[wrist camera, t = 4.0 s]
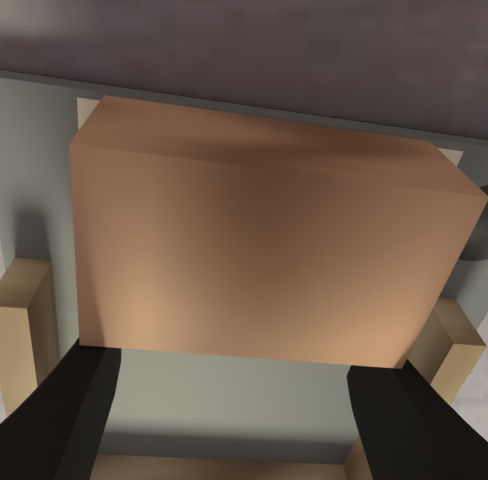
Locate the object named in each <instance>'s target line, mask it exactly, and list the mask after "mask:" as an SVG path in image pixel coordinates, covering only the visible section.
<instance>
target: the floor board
mask: <svg viewBox="0 0 488 480" xmlns="http://www.w3.org/2000/svg"><path fill="white" fill-rule="evenodd" d="M104 95H109V96H116V97H123V98H130V99H137V100H144V101H151V102H158V103H165V104H172V105H179V106H186V107H193V108H200V109H207V110H214V111H221V112H228V113H235V114H242V115H249V116H256V117H263V118H270V119H277V120H284V121H291V122H298V123H305V124H312V125H319V126H327V127H334V128H341V129H348V130H355V131H362V132H369V133H376V134H383V135H390V136H397V137H404V138H411V139H418V140H425V141H430V142H431V143H432V144H433V145H435V146H436V147H437V148H438V149H439V150H440V151H441V152H442V153H443V154H444V155H445V156H446V157H447V158H448V159H449V160H450V161H451V162H453V163H454V164H455V165H456V166H457V167H458V168H459V169H460V170H461V171H462V172H463V173H464V174H465V175H466V176H467V177H468V178H469V179H470V180H472V181H473V182H474V183H475V184H476V185H477V186H478V187H479V188H480V189H481V190H482V191H483V192H484V193H485V194H486V195H487V196H488V140H483V139H476V138H469V137H462V136H455V135H448V134H441V133H434V132H428V131H421V130H414V129H407V128H400V127H393V126H386V125H379V124H372V123H365V122H358V121H351V120H344V119H338V118H331V117H324V116H317V115H310V114H303V113H296V112H289V111H282V110H275V109H268V108H261V107H254V106H248V105H241V104H234V103H227V102H220V101H213V100H206V99H199V98H192V97H185V96H178V95H171V94H164V93H158V92H151V91H144V90H137V89H130V88H123V87H116V86H109V85H102V84H95V83H88V82H81V81H74V80H68V79H61V78H54V77H47V76H40V75H33V74H26V73H19V72H12V71H5V70H0V239H1V245H2V251H3V257H4V264H5V270H7V269H8V267H9V266H10V264H11V262H12V261H13V259H14V258H24V259H35V260H45V261H52V272H53V283H54V294H55V305H56V317H57V328H58V339H59V350H60V361H61V359H62V358H63V357H64V356H65V354H66V353H67V352H68V351H69V349H70V348H71V347H72V346H73V344H74V343H75V342H76V340H77V339H78V338H79V324H78V305H77V287H76V268H75V250H74V231H73V213H72V194H71V176H70V157H69V143H70V141H71V140H72V139H73V137H74V136H75V135H76V133H77V132H78V131H79V129H80V128H81V126H82V125H83V124H84V122H85V121H86V120H87V118H88V117H89V116H90V114H91V113H92V111H93V110H94V109H95V107H96V106H97V105H98V103H99V102H100V101H101V99H102V98H103V96H104ZM438 298H445V299H455V300H456V301H457V302H458V304H459V305H460V307H461V308H462V310H463V311H464V313H465V314H466V316H467V317H468V319H469V320H470V322H471V323H472V325H473V326H474V328H475V329H476V331H477V329H478V327H479V326H480V324H481V322H482V321H483V319H484V317H485V316H486V314H487V312H488V201H487V203H486V205H485V207H484V209H483V211H482V213H481V215H480V217H479V219H478V221H477V223H476V225H475V227H474V229H473V231H472V233H471V235H470V237H469V239H468V241H467V243H466V244H465V246H464V248H463V250H462V252H461V254H460V256H459V258H458V260H457V262H456V264H455V266H454V268H453V270H452V272H451V274H450V276H449V278H448V280H447V282H446V284H445V285H444V287H443V289H442V291H441V293H440V295H439V297H438ZM350 366H351V365H343V364H329V363H316V362H302V361H289V360H275V359H261V358H248V357H234V356H220V355H207V354H193V353H180V352H166V351H152V350H139V349H125V348H122V349H121V365H120V371H119V376H118V381H117V387H116V392H115V396H114V399H113V403H112V406H111V410H110V413H109V416H108V420H107V423H106V426H105V429H104V433H103V436H102V439H101V443H100V446H99V449H98V453H97V454H106V455H129V456H151V457H174V458H197V459H220V460H243V461H266V462H289V463H311V464H334V465H344V463H345V461H346V459H347V457H348V455H349V453H350V451H351V449H352V447H353V445H354V443H355V441H356V439H357V437H358V435H359V432H358V429H357V425H356V422H355V418H354V415H353V411H352V407H351V402H350V396H349V390H348V384H347V377H346V376H347V373H348V371H349V369H350Z"/></svg>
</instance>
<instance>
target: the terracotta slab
mask: <svg viewBox="0 0 488 480" xmlns="http://www.w3.org/2000/svg"><path fill="white" fill-rule="evenodd" d="M69 157H70V176H71V194H72V213H73V231H74V250H75V268H76V287H77V305H78V324H79V342H80V345H84V346H98V347H111V348H125V349H139V350H152V351H166V352H180V353H193V354H207V355H220V356H234V357H248V358H261V359H275V360H289V361H302V362H316V363H329V364H343V365H357V366H370V367H384V368H398V369H402V367H403V366H404V364H405V362H406V360H407V358H408V356H409V354H410V352H411V350H412V348H413V346H414V344H415V342H416V340H417V338H418V336H419V334H420V332H421V330H422V328H423V326H424V325H425V323H426V321H427V319H428V317H429V315H430V313H431V311H432V309H433V307H434V305H435V303H436V301H437V299H438V297H439V295H440V293H441V291H442V289H443V287H444V285H445V284H446V282H447V280H448V278H449V276H450V274H451V272H452V270H453V268H454V266H455V264H456V262H457V260H458V258H459V256H460V254H461V252H462V250H463V248H464V246H465V244H466V243H467V241H468V239H469V237H470V235H471V233H472V231H473V229H474V227H475V225H476V223H477V221H478V219H479V217H480V215H481V213H482V211H483V209H484V207H485V205H486V203H487V201H488V196H487V195H486V194H485V193H484V192H483V191H482V190H481V189H480V188H479V187H478V186H477V185H476V184H475V183H474V182H473V181H472V180H470V179H469V178H468V177H467V176H466V175H465V174H464V173H463V172H462V171H461V170H460V169H459V168H458V167H457V166H456V165H455V164H454V163H453V162H451V161H450V160H449V159H448V158H447V157H446V156H445V155H444V154H443V153H442V152H441V151H440V150H439V149H438V148H437V147H436V146H435V145H433V144H432V143H431V142H430V141H425V140H418V139H411V138H404V137H397V136H390V135H383V134H376V133H369V132H362V131H355V130H348V129H341V128H334V127H327V126H319V125H312V124H305V123H298V122H291V121H284V120H277V119H270V118H263V117H256V116H249V115H242V114H235V113H228V112H221V111H214V110H207V109H200V108H193V107H186V106H179V105H172V104H165V103H158V102H151V101H144V100H137V99H130V98H123V97H116V96H109V95H104V96H103V98H102V99H101V101H100V102H99V103H98V105H97V106H96V107H95V109H94V110H93V111H92V113H91V114H90V116H89V117H88V118H87V120H86V121H85V122H84V124H83V125H82V126H81V128H80V129H79V131H78V132H77V133H76V135H75V136H74V137H73V139H72V140H71V141H70V143H69Z"/></svg>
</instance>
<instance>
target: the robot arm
mask: <svg viewBox="0 0 488 480" xmlns="http://www.w3.org/2000/svg"><path fill="white" fill-rule="evenodd" d="M121 349H122V348H111V347H98V346H84V345H80V342H79V338H78V339H77V340H76V342H75V343H74V344H73V346H72V347H71V348H70V349H69V351H68V352H67V353H66V354H65V356H64V357H63V358H62V359H61V361H60V362H59V363H58V364H57V366H56V367H55V368H54V369H53V370H52V371H51V372H50V374H49V375H48V376H47V377H46V378H45V379H44V380H43V381H42V382H41V384H40V385H39V386H38V387H37V388H36V389H35V390H34V391H33V392H32V393H31V394H30V395H29V396H28V398H27V399H26V400H25V401H24V402H23V403H22V404H21V405H20V406H19V407H18V408H17V409H16V410H14V411H13V412H12V413H11V414H10V415H9V416H8V417H7V418H6V419H5V420H4V421H3V422H2V423H1V424H0V480H90V476H91V473H92V469H93V466H94V462H95V459H96V456H97V453H98V449H99V446H100V443H101V439H102V436H103V433H104V429H105V426H106V423H107V420H108V416H109V413H110V410H111V406H112V403H113V399H114V396H115V392H116V387H117V381H118V376H119V371H120V365H121ZM346 377H347V384H348V390H349V396H350V402H351V407H352V411H353V415H354V418H355V422H356V425H357V429H358V432H359V435H360V439H361V442H362V445H363V449H364V452H365V455H366V458H367V462H368V465H369V468H370V472H371V475H372V478H373V480H488V442H487V441H486V440H485V439H484V438H483V437H482V436H481V435H479V434H478V433H477V432H476V431H475V430H474V429H473V428H472V427H471V426H470V425H469V424H468V423H467V422H465V421H464V420H463V419H462V418H461V417H460V416H459V415H458V413H457V412H456V411H455V410H454V409H453V408H452V407H451V406H450V405H449V404H448V403H447V402H446V401H445V400H444V399H443V398H442V397H441V396H440V395H439V394H438V393H437V392H436V391H435V389H434V388H433V387H432V386H431V385H430V384H429V383H428V382H427V381H426V380H425V378H424V377H423V376H422V375H421V374H420V373H419V372H418V370H417V369H416V368H415V367H414V366H413V365H412V363H411V362H410V361H409V360H408V359H407V360H406V362H405V364H404V366H403V367H402V369H398V368H384V367H370V366H357V365H351V366H350V369H349V371H348V373H347V376H346Z"/></svg>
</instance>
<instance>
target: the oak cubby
mask: <svg viewBox="0 0 488 480" xmlns="http://www.w3.org/2000/svg"><path fill="white" fill-rule="evenodd" d="M486 347H487V346H486V345H485V343H484V342H483V340H482V339H481V337H480V335H479V334H478V332H477V331H476V329H475V328H474V326H473V325H472V323H471V322H470V320H469V319H468V317H467V316H466V314H465V313H464V311H463V310H462V308H461V307H460V305H459V304H458V302H457V301H456V300H455V299H445V298H438V299H437V301H436V303H435V305H434V307H433V309H432V311H431V313H430V315H429V317H428V319H427V321H426V323H425V325H424V326H423V328H422V330H421V332H420V334H419V336H418V338H417V340H416V342H415V344H414V346H413V348H412V350H411V352H410V354H409V356H408V358H407V359H408V360H409V361H410V362H411V363H412V365H413V366H414V367H415V368H416V369H417V370H418V372H419V373H420V374H421V375H422V376H423V377H424V378H425V380H426V381H427V382H428V383H429V384H430V385H431V386H432V387H433V388H434V389H435V391H436V392H437V393H438V394H439V395H440V396H441V397H442V398H443V399H444V400H445V401H446V402H447V403H448V404H449V405H450V403H451V402H452V400H453V399H454V397H455V395H456V394H457V392H458V391H459V389H460V388H461V386H462V384H463V383H464V381H465V380H466V378H467V377H468V375H469V373H470V372H471V370H472V369H473V367H474V366H475V364H476V362H477V361H478V359H479V358H480V356H481V355H482V353H483V351H484V350H485V348H486ZM59 362H60V350H59V339H58V328H57V317H56V305H55V294H54V283H53V272H52V261H45V260H35V259H24V258H14V259H13V261H12V262H11V264H10V266H9V267H8V269H7V270H6V272H5V273H4V275H3V276H2V278H1V280H0V386H1V391H2V396H3V401H4V406H5V411H6V416H7V417H8V416H9V415H10V414H11V413H12V412H13V411H14V410H16V409H17V408H18V407H19V406H20V405H21V404H22V403H23V402H24V401H25V400H26V399H27V398H28V396H29V395H30V394H31V393H32V392H33V391H34V390H35V389H36V388H37V387H38V386H39V385H40V384H41V382H42V381H43V380H44V379H45V378H46V377H47V376H48V375H49V374H50V372H51V371H52V370H53V369H54V368H55V367H56V366H57V364H58V363H59ZM90 480H373V478H372V475H371V472H370V468H369V465H368V462H367V458H366V455H365V452H364V449H363V445H362V442H361V439H360V435H358V437H357V439H356V441H355V443H354V445H353V447H352V449H351V451H350V453H349V455H348V457H347V459H346V461H345V463H344V465H334V464H311V463H289V462H266V461H243V460H220V459H197V458H174V457H151V456H129V455H106V454H97V456H96V459H95V462H94V466H93V469H92V473H91V476H90Z"/></svg>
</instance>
